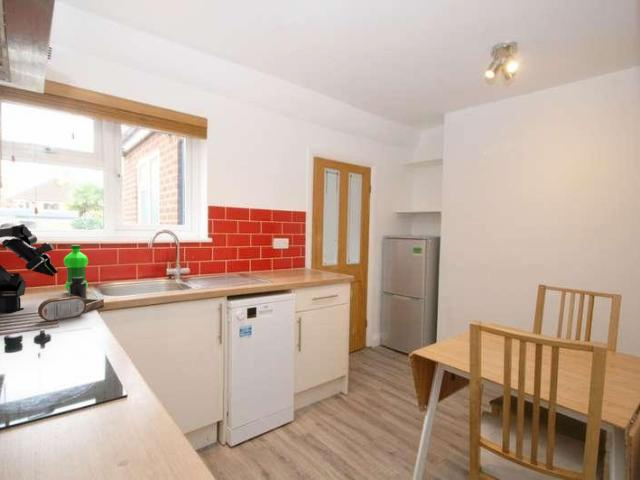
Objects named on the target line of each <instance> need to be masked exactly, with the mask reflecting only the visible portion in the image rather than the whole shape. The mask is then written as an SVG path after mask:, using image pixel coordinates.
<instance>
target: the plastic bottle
mask: <svg viewBox="0 0 640 480" xmlns="http://www.w3.org/2000/svg"><path fill="white" fill-rule="evenodd" d="M70 249H71V252H70V253H68V254H67V255H65V257H64V258H63V265H64V266H65V267H66V282H65V285H64V288H65V290H66V291H67V292H68V293H69V284H70V283H72V282H71V278H72V277H77V276H83V277H84V282H85V283H86V284H87V288H88V287H89V284H88V282H87V280H86V278H87V277H86V267H87V266H88V264H89V259H88V257H87V255H85V254H84V253H82V252H81V251H80V250H81V249H82V245H81V244H71V245H70Z"/></svg>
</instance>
